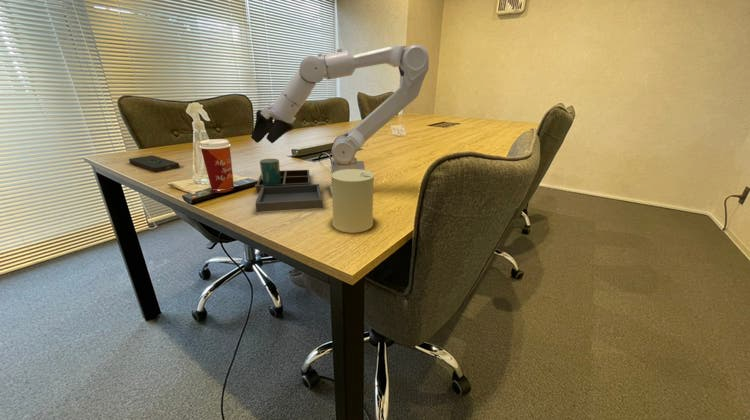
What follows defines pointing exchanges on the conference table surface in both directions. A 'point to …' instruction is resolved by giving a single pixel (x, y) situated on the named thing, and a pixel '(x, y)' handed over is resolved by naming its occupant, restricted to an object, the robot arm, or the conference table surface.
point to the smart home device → (154, 163)
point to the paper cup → (218, 163)
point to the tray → (289, 197)
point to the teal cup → (270, 171)
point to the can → (352, 200)
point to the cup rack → (289, 179)
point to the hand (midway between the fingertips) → (262, 140)
